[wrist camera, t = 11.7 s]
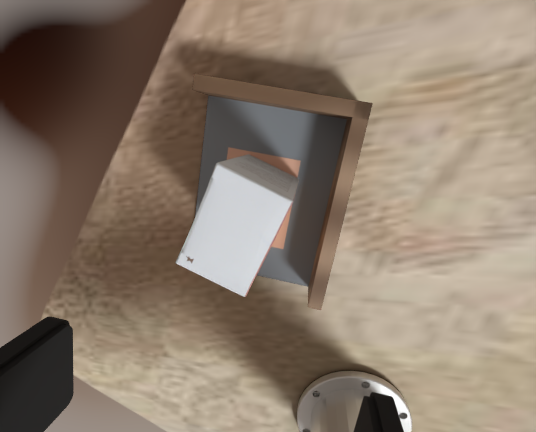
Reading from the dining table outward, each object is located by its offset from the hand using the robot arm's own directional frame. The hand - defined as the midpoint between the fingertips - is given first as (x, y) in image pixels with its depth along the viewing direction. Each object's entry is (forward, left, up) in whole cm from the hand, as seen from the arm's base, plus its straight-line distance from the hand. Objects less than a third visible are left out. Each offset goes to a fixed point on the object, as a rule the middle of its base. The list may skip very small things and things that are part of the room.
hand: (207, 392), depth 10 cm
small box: (+1, +2, -22) cm, 22 cm away
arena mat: (+2, +1, -22) cm, 23 cm away
